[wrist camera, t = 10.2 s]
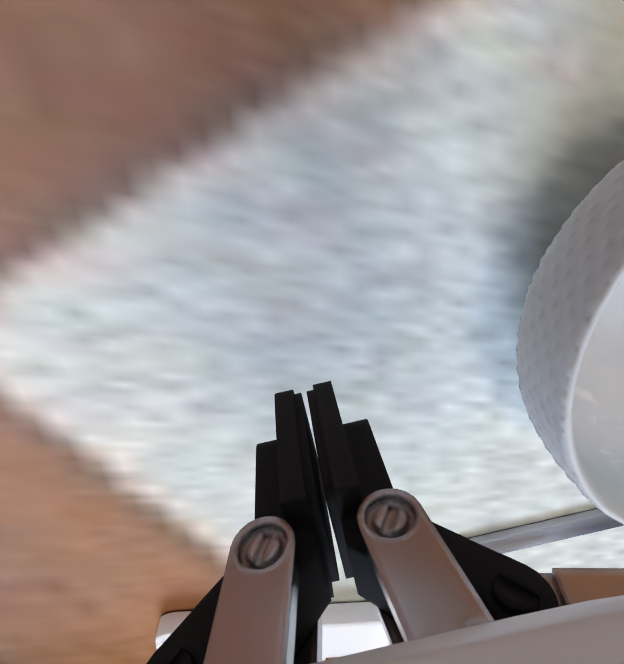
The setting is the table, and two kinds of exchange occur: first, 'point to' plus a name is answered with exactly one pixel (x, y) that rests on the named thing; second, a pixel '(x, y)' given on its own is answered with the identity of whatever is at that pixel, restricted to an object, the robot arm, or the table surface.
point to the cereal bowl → (580, 346)
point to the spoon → (547, 531)
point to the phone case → (337, 628)
